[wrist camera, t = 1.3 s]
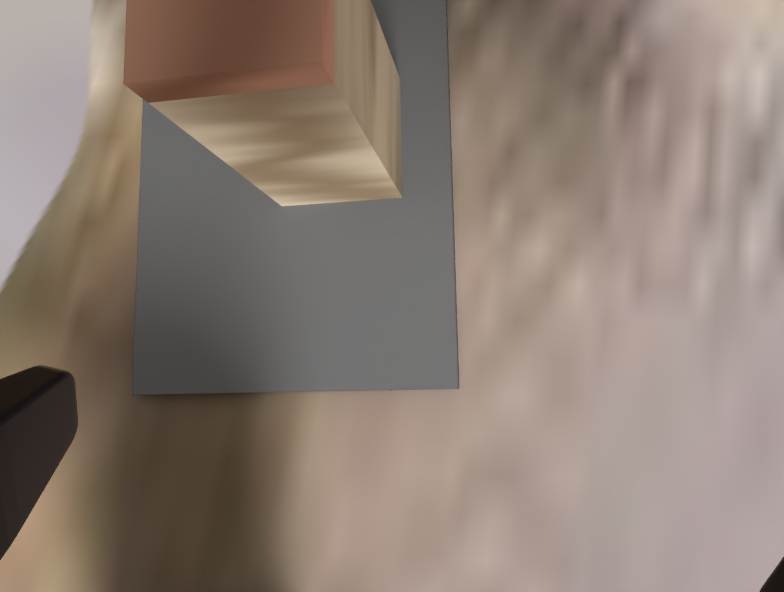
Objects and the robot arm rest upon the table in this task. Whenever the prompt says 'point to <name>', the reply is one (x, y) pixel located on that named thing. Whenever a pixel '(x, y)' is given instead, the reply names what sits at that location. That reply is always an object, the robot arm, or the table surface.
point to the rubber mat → (303, 257)
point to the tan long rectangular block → (276, 91)
